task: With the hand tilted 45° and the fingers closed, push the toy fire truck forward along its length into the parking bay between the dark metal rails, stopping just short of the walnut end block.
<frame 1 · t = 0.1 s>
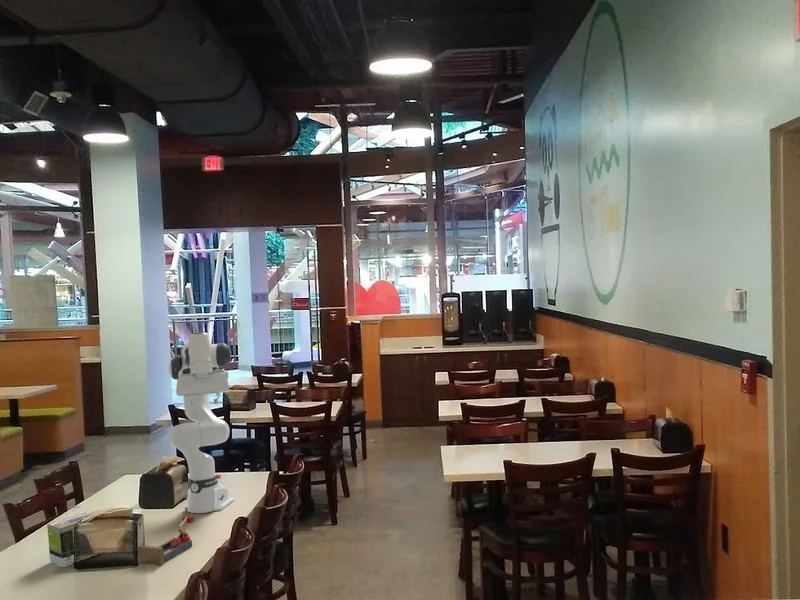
hand: (203, 405, 284), 52 cm above the table, tool tilted 20°, fingers open, 8 cm apart
tea box: (75, 559, 267), on the table
toy fire truck: (183, 546, 275), on the table
parking bay: (169, 553, 268), on the table
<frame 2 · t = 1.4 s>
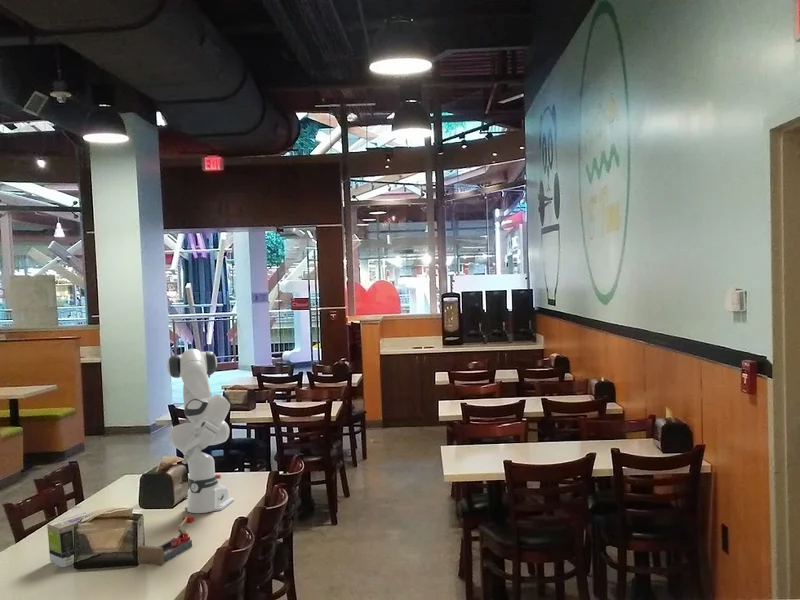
hand: (188, 460, 281), 31 cm above the table, tool tilted 45°, fingers open, 8 cm apart
nothing on the table moved.
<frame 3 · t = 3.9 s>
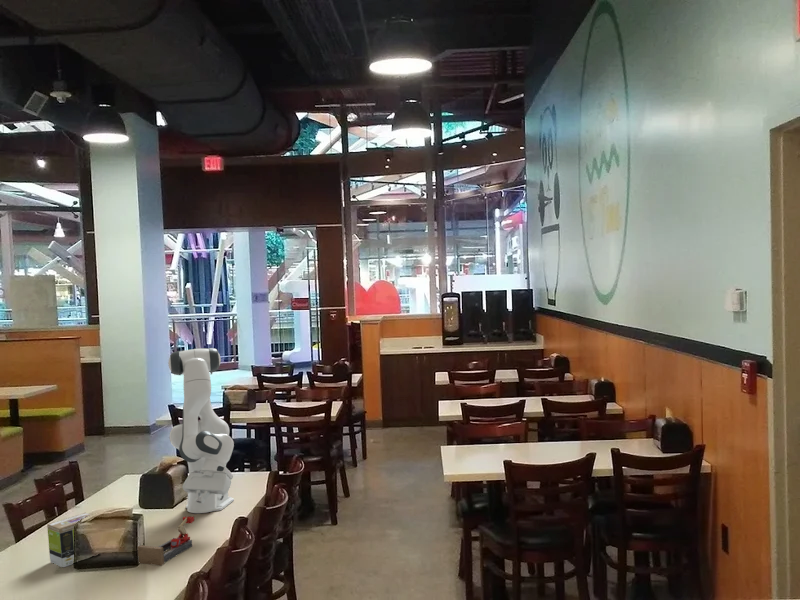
hand: (199, 502, 285), 13 cm above the table, tool tilted 45°, fingers closed
nothing on the table moved.
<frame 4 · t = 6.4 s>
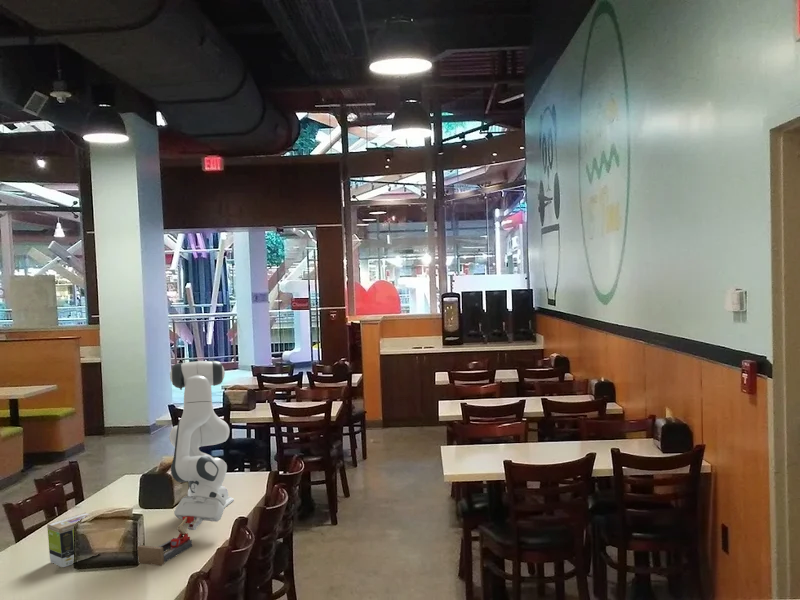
hand: (191, 529, 280), 4 cm above the table, tool tilted 45°, fingers closed
toy fire truck: (182, 546, 275), on the table, touching gripper
everything else where it was.
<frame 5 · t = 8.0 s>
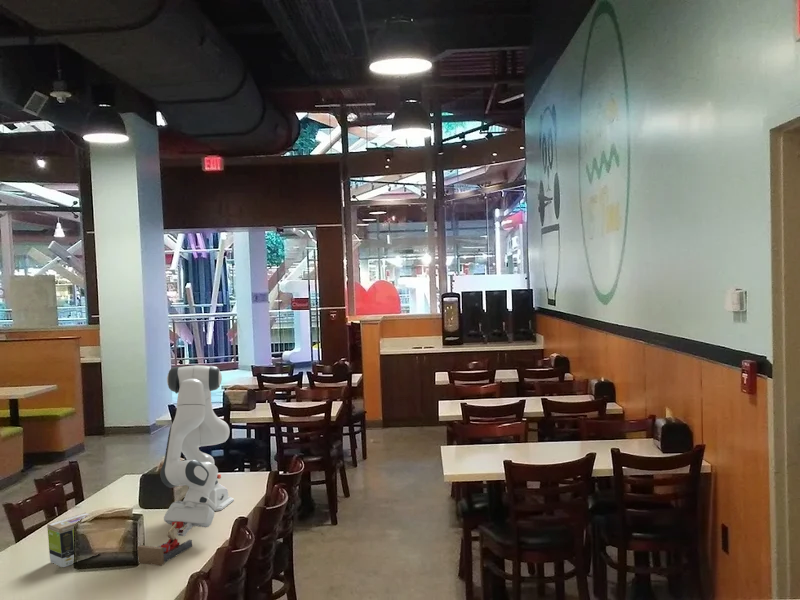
hand: (180, 535, 274), 4 cm above the table, tool tilted 45°, fingers closed
toy fire truck: (172, 552, 269), on the table, touching gripper
everything else where it was.
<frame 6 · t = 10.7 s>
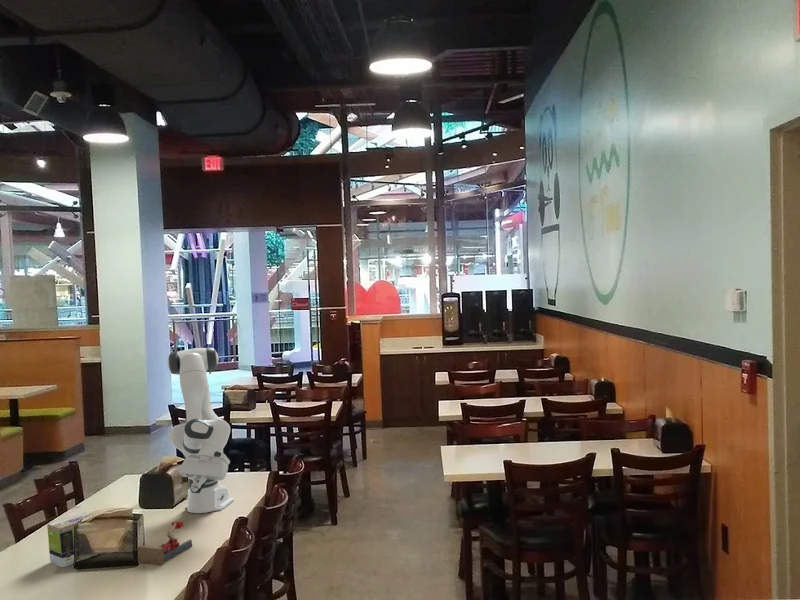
hand: (195, 487, 284), 20 cm above the table, tool tilted 45°, fingers closed
toy fire truck: (172, 552, 269), on the table
everything else where it was.
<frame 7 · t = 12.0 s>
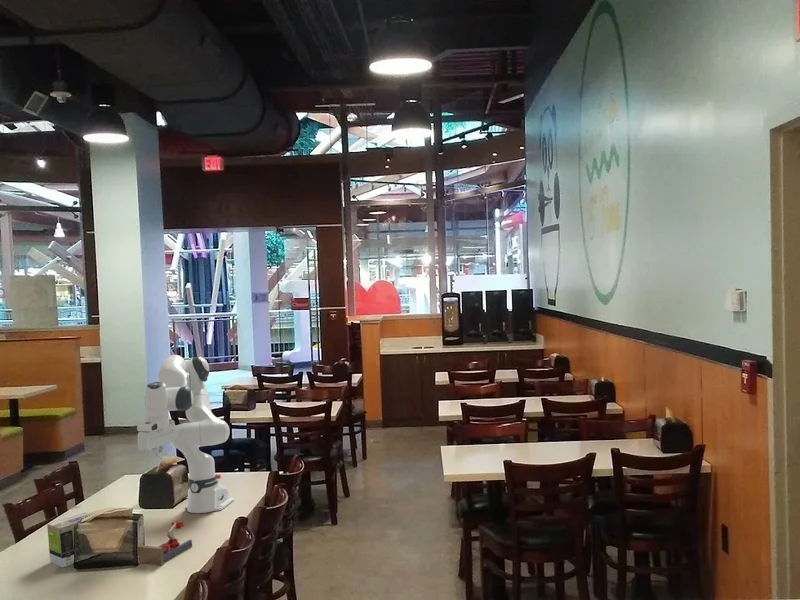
hand: (158, 456, 291), 31 cm above the table, tool pointing down, fingers closed
nothing on the table moved.
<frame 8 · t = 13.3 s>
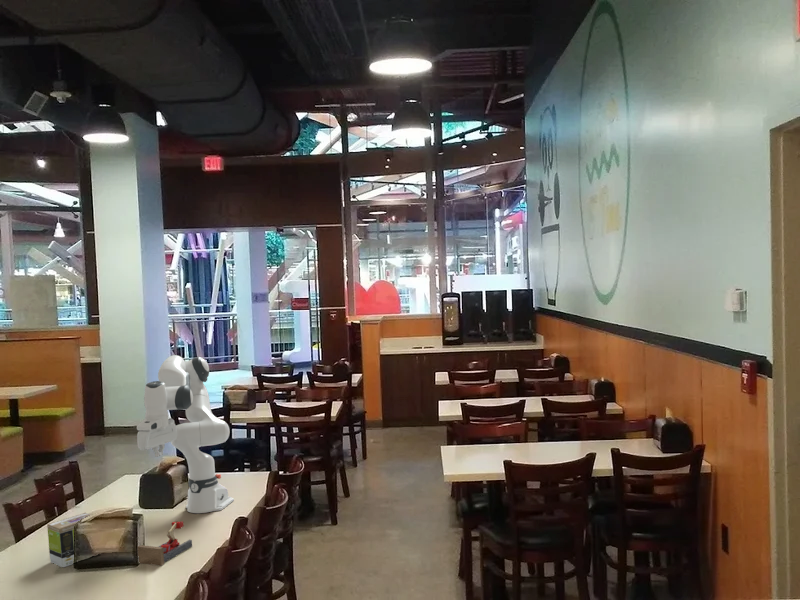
hand: (159, 456, 291), 31 cm above the table, tool pointing down, fingers closed
nothing on the table moved.
at the end: toy fire truck 2.0 cm off-centre on the parking bay, point 0.0 cm above the parking bay's base; toy fire truck tilted 0°; toy fire truck moved 6.2 cm from its start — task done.
